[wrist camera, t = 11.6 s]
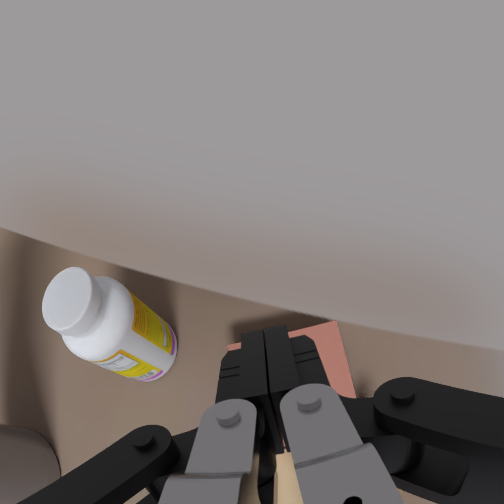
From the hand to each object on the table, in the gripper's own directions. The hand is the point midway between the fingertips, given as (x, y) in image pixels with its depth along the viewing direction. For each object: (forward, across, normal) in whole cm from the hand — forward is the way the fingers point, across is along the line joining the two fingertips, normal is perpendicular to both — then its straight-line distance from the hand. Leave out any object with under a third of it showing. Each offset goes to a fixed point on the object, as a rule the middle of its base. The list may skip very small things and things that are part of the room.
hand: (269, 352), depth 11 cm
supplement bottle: (+17, +13, +8) cm, 23 cm away
